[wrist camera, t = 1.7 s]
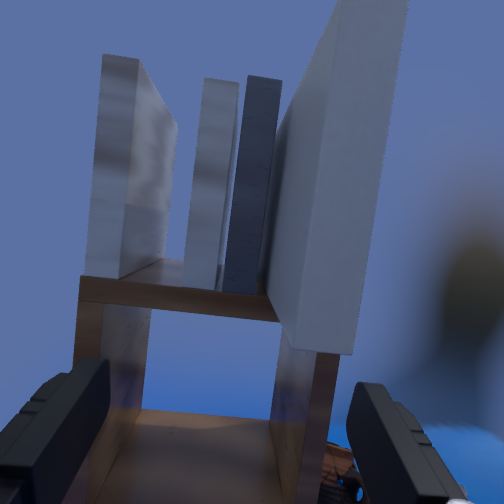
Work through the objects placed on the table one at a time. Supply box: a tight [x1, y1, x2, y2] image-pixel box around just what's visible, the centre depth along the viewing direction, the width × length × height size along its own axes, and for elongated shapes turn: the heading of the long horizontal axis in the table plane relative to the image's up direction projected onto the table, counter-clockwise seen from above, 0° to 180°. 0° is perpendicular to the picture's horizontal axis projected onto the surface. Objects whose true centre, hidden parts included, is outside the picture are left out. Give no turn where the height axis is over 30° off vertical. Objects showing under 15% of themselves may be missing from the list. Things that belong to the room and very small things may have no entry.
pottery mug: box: [317, 442, 371, 504], centre depth 41 cm, size 12×9×8 cm
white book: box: [257, 0, 409, 355], centre depth 20 cm, size 20×2×12 cm, turn 3°
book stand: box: [61, 54, 340, 504], centre depth 25 cm, size 12×16×43 cm
